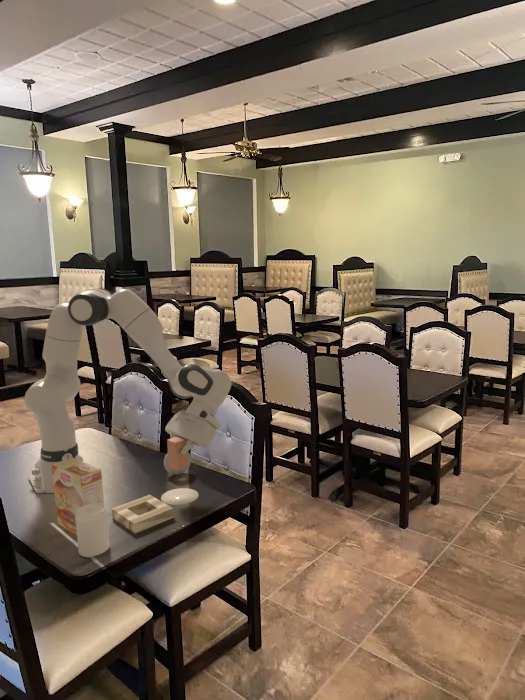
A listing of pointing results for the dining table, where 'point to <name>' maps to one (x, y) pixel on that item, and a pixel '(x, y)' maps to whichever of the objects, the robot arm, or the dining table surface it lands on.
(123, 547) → the dining table surface
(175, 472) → the donut
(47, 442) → the robot arm
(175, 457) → the block
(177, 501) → the cream oval shape
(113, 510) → the holder
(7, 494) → the dining table surface
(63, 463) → the coffeecake box
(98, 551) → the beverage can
